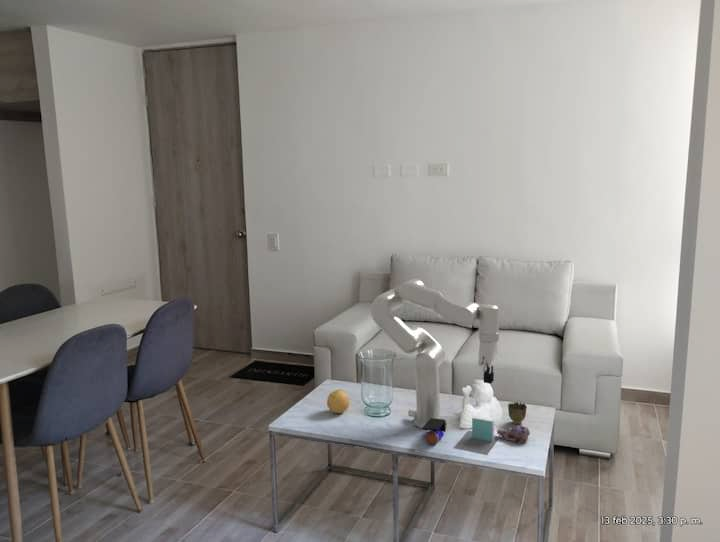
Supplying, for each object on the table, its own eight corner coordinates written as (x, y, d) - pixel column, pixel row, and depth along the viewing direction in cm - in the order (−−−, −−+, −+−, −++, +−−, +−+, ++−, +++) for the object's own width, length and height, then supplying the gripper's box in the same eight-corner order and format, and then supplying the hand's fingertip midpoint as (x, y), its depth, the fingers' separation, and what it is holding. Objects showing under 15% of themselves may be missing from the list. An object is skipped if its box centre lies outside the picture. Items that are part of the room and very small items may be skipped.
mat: (453, 448, 221) (453, 447, 221) (468, 431, 236) (468, 430, 236) (487, 456, 215) (487, 454, 215) (500, 437, 229) (500, 436, 229)
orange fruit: (351, 408, 263) (350, 386, 262) (348, 416, 254) (347, 394, 252) (329, 407, 265) (328, 386, 263) (325, 416, 255) (324, 394, 253)
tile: (472, 437, 229) (472, 418, 228) (473, 435, 231) (473, 416, 230) (492, 441, 225) (492, 421, 224) (493, 439, 227) (493, 419, 226)
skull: (494, 438, 227) (496, 422, 226) (500, 433, 234) (502, 418, 233) (525, 446, 221) (528, 431, 221) (530, 441, 228) (532, 426, 227)
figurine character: (431, 433, 239) (421, 445, 224) (431, 414, 238) (421, 425, 224) (447, 435, 236) (438, 447, 222) (448, 416, 236) (439, 427, 222)
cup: (507, 419, 246) (507, 401, 245) (525, 420, 244) (526, 402, 243) (508, 427, 239) (508, 408, 237) (527, 428, 237) (527, 409, 236)
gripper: (485, 330, 237) (485, 374, 239) (472, 340, 223) (472, 387, 226) (504, 332, 233) (503, 377, 236) (492, 342, 219) (492, 389, 222)
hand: (488, 381), depth 231 cm, fingers closed
